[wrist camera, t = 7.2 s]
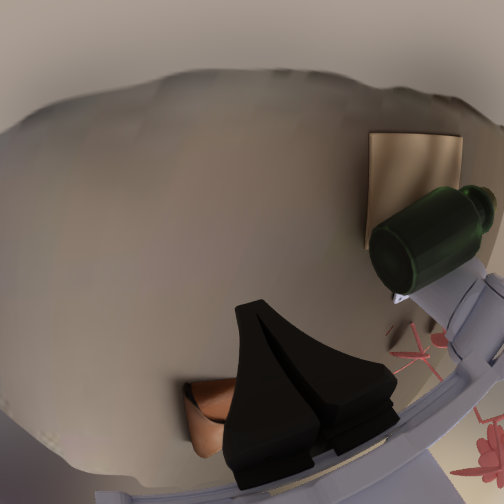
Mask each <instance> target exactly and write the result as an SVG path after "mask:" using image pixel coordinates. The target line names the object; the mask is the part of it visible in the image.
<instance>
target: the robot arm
mask: <svg viewBox="0 0 504 504" xmlns="http://www.w3.org/2000/svg"><path fill="white" fill-rule="evenodd" d="M408 297H410V298H411V299H412V300H414V301H415V302H416V303H417V304H418V305H419V306H420V307H421V308H422V309H424V310H425V311H426V312H427V313H428V314H429V315H430V316H431V317H432V318H433V319H434V320H436V321H437V322H438V323H439V324H440V325H441V326H442V327H443V328H444V329H445V330H446V331H447V332H446V334H445V335H444V336H445V337H446V338H447V339H448V340H449V341H448V343H447V347H448V352H449V355H450V357H451V359H452V360H453V362H454V363H455V364H456V365H457V367H456V369H455V371H454V372H453V373H451V374H450V375H449V376H448V377H447V378H445V379H444V380H443V381H442V382H440V383H439V384H438V385H437V386H435V387H434V388H433V389H432V390H430V391H429V392H428V393H426V394H425V395H423V396H422V397H421V398H420V399H418V400H417V401H415V402H414V403H412V404H411V405H410V406H408V407H406V408H405V409H403V410H402V411H400V412H399V413H396V412H395V410H394V409H393V408H392V406H393V402H392V401H391V399H390V397H391V395H392V393H393V392H394V390H395V388H396V386H397V379H396V378H395V376H394V375H393V374H392V373H391V371H390V370H389V369H388V368H387V367H385V365H384V364H380V363H375V362H371V361H366V360H363V359H359V358H356V357H353V356H350V355H347V354H345V353H342V352H340V351H337V350H335V349H333V348H330V347H328V346H326V345H324V344H322V343H321V342H319V341H317V340H315V339H313V338H312V337H310V336H308V335H307V334H305V333H304V332H302V331H301V330H299V329H298V328H296V327H295V326H294V325H292V324H291V323H290V322H288V321H287V320H286V319H284V318H283V317H282V316H281V315H279V314H278V313H277V312H276V311H275V310H274V309H273V308H271V307H270V306H269V305H268V304H267V303H266V302H265V301H264V300H262V299H260V300H257V301H253V302H250V303H246V304H243V305H239V306H236V308H235V313H236V318H237V323H238V328H239V336H240V347H239V364H238V372H237V378H236V384H235V389H234V393H233V397H232V401H231V405H230V409H229V412H228V415H227V418H226V421H225V424H224V431H223V441H222V450H223V455H224V458H225V461H226V464H227V466H228V467H229V468H230V469H231V470H232V472H233V474H234V477H235V480H236V482H235V483H231V484H227V485H222V486H217V487H212V488H206V489H200V490H194V491H187V492H178V493H169V494H156V495H135V496H134V495H129V494H127V493H124V492H118V491H97V490H96V491H95V500H96V504H466V503H465V502H464V500H463V499H462V497H461V496H460V494H459V493H458V491H457V490H456V489H455V487H454V486H453V484H452V483H451V481H450V480H449V478H448V477H447V476H446V474H445V473H444V471H443V470H442V468H441V467H440V466H439V464H438V463H437V461H436V460H435V459H434V457H433V456H432V454H431V453H430V452H429V450H428V448H429V447H430V446H432V445H433V444H434V443H436V442H437V441H438V440H439V439H440V438H442V437H443V436H444V435H445V434H446V433H447V432H448V431H450V430H451V429H452V428H453V427H454V426H455V425H456V424H457V423H458V422H459V421H460V420H461V419H462V418H463V417H464V416H466V415H467V414H468V413H469V411H471V409H472V408H474V407H475V405H476V404H477V403H478V402H479V401H480V400H481V399H482V398H483V397H484V396H485V395H486V393H487V392H488V391H489V390H490V389H491V387H492V386H493V385H494V384H495V383H496V382H498V381H502V380H504V350H503V351H502V353H501V354H500V355H499V356H498V357H497V358H496V359H494V360H492V359H493V358H494V356H495V355H496V354H497V352H498V351H499V349H500V348H501V346H502V345H503V343H504V278H503V277H501V276H499V275H497V274H495V273H491V274H487V271H486V269H485V267H484V265H483V264H482V262H481V261H480V260H479V259H478V258H476V257H475V256H474V257H473V258H472V259H471V260H469V261H468V262H466V263H464V264H463V265H461V266H460V267H458V268H456V269H455V270H453V271H451V272H450V273H448V274H446V275H445V276H443V277H441V278H440V279H438V280H436V281H434V282H433V283H431V284H429V285H427V286H426V287H424V288H422V289H420V290H418V291H416V292H415V293H413V294H410V295H406V296H403V295H399V294H397V293H395V294H394V298H393V302H394V303H395V304H396V303H398V302H400V301H402V300H404V299H406V298H408ZM391 434H392V435H391ZM388 436H389V437H388ZM387 437H388V438H387ZM385 438H387V439H386V441H385V442H384V444H382V445H380V446H379V447H377V448H375V449H374V450H372V451H370V452H368V453H367V454H365V455H363V456H361V457H359V458H358V459H355V460H353V461H351V462H349V463H348V464H345V465H343V466H342V467H339V468H337V469H336V470H333V471H331V472H329V473H327V474H325V475H323V476H321V477H318V478H316V479H314V480H312V481H309V482H307V483H305V484H302V485H300V486H298V487H295V488H293V489H290V490H288V491H285V492H282V493H280V494H277V495H274V496H271V495H270V493H268V492H265V491H269V490H272V489H275V488H278V487H281V486H284V485H287V484H290V483H293V482H296V481H299V480H301V479H304V478H306V477H309V476H311V475H314V474H316V473H318V472H321V471H323V470H326V469H328V468H330V467H332V466H335V465H337V464H339V463H341V462H343V461H345V460H347V459H349V458H351V457H353V456H355V455H357V454H359V453H360V452H362V451H364V450H366V449H368V448H370V447H371V446H373V445H375V444H377V443H378V442H380V441H382V440H383V439H385ZM262 492H265V493H262ZM258 493H260V494H258Z"/></svg>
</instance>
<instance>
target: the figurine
mask: <svg viewBox="0 0 504 504" xmlns="http://www.w3.org/2000/svg"><path fill="white" fill-rule="evenodd" d="M392 327H393V326H392ZM392 327H391V329H392ZM411 327H412V330H413V333H414V335H415V338H416V341H417V344H418V347H419V350H420V353H417V352H390V355H392V354H394V355H393V356H396V357H402V358H412V359H415V360H416V359H421V360H424V362H425V363H426V364H427V365H428V366H429V368H430V369H431V370H432V371H433V372H434V374H435V375H436V376H437V377H438V379H439V380H440V381H441V382H442V381H443V379H442V378H441V377H440V376H439V375H438V373H437V372H436V371H435V370H434V369H433V367H432V366H431V365H430V364H429V363H428V362H427V360H426V359H425V358H429V357H430V355H429V354H425V353H424V352H425V351H426V350H427V349H428V348H429V347H428V348H427V349H426V350H425V351H423V348H422V345H421V342H420V339H419V337H418V334H417V331H416V328H415V325H414V323H411ZM442 328H443V327H442ZM391 329H390V330H391ZM390 330H389V331H388V333H389V332H390ZM443 331H444V333H437V334H431V339H432V343H433V345H434V346H436V347H439V348H447V343H448V341H449V340H448V339H447V338H446V337H445V336H444V335H445V334H446V332H447V331H446V330H445V329H444V328H443ZM388 333H387V334H388ZM387 334H386V336H387ZM415 360H414V362H415ZM412 362H413V361H412ZM412 362H411V363H410V364H412ZM408 365H409V364H408ZM408 365H407V366H408ZM405 367H406V366H405ZM405 367H404V368H405ZM402 369H403V368H402ZM402 369H400V370H402ZM400 370H399V371H400ZM397 372H398V371H397ZM395 373H396V372H395ZM393 375H394V373H393ZM473 409H474V411H475V414H476V416H477V418H478V421H479V423H482V424H484V423H487V422H490V421H493V423H494V424H493V425H492V424H489V426H488V428H487V439H488V441H487V440H485V439H483V438H481V439H478V440H477V448H478V451H479V453H480V454H481V456H480V458H479V460H478V463H479V465H480V466H481V467H477V468H468V469H462V470H456V471H452V472H450V474H453V475H460V476H482V475H483V477H482V480H483V482H485V483H487V482H491V481H493V480H494V479H495V478H496V477H497V486H498V488H500V489H501V488H502V487H503V486H504V430H503V428H502V427H501V426H500V425H499V426H497V422H499V421H500V420H502V419H504V414H503V415H500V416H497V417H494V418H490V419H487V420H484V421H482V419H481V417H480V415H479V413H478V411H477V409H476V407H474V408H473Z"/></svg>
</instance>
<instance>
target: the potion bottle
mask: <svg viewBox="0 0 504 504" xmlns="http://www.w3.org/2000/svg"><path fill="white" fill-rule="evenodd" d="M496 211H497V201H496V198H495V196H494V194H493V193H492V192H491V191H490V190H489V189H488V188H485V187H478V186H474V185H468V186H464V187H463V188H461V189H460V190H457V189H454V188H452V187H449V186H445V187H437V188H436V189H434V190H433V191H431V192H429V193H428V194H426V195H425V196H423V197H422V198H420V199H419V200H417V201H415V202H414V203H412V204H411V205H409V206H408V207H406V208H404V209H403V210H401V211H400V212H398V213H396V214H395V215H393V216H391V217H390V218H388V219H387V220H385V221H383V222H382V223H380V224H378V225H377V226H376V227H375V228H374V229H373V230H372V233H371V236H370V240H369V254H370V258H371V261H372V265H373V267H374V269H375V271H376V273H377V275H378V277H379V278H380V280H381V281H382V282H383V284H384V285H385V286H386V287H387V288H388V289H390V290H391V291H392V292H394V293H397V294H399V295H403V296H406V295H410V294H413V293H415V292H416V291H418V290H420V289H422V288H424V287H426V286H427V285H429V284H431V283H433V282H434V281H436V280H438V279H440V278H441V277H443V276H445V275H446V274H448V273H450V272H451V271H453V270H455V269H456V268H458V267H460V266H461V265H463V264H464V263H466V262H468V261H469V260H471V259H472V258H473V257H474V256H475V254H476V253H477V252H478V250H479V249H480V244H481V239H482V234H484V233H486V232H488V231H489V229H490V228H491V226H492V224H493V220H494V214H495V213H496Z"/></svg>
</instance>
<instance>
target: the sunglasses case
mask: <svg viewBox="0 0 504 504" xmlns="http://www.w3.org/2000/svg"><path fill="white" fill-rule="evenodd" d="M235 384H236V378H233V379H224V380H216V381H207V382H197V383H190V384H188V383H187V382H186V383H185V384H184V386H183V389H182V390H183V399H184V405H185V411H186V417H187V422H188V427H189V432H190V437H191V442H192V445H193V448H194V451H195V452H196V454H197V455H198V456H200V457H202V458H205V459H206V458H208V457H210V456H212V455H213V454H215V453H216V452H217V451H219V450H220V449H221V448H222V441H223V431H224V424H225V421H226V418H227V415H228V412H229V409H230V405H231V401H232V397H233V393H234V389H235Z"/></svg>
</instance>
